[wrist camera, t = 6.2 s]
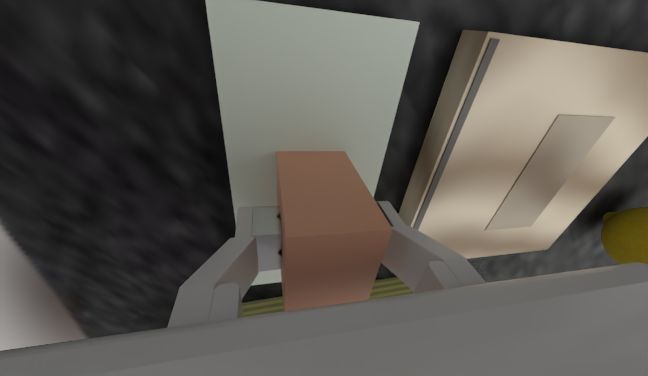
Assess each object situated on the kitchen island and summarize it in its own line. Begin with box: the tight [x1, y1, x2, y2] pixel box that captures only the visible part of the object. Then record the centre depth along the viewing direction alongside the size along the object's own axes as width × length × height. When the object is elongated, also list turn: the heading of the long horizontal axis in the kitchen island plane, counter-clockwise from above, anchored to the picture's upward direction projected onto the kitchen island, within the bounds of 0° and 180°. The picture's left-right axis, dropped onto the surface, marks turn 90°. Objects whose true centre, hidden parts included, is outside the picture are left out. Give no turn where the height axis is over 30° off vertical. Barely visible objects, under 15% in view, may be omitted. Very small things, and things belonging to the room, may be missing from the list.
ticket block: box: [398, 30, 648, 259], centre depth 15 cm, size 14×14×2 cm
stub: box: [205, 0, 420, 311], centre depth 10 cm, size 14×7×6 cm, turn 174°
